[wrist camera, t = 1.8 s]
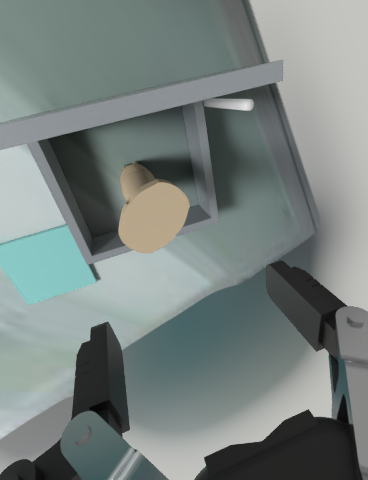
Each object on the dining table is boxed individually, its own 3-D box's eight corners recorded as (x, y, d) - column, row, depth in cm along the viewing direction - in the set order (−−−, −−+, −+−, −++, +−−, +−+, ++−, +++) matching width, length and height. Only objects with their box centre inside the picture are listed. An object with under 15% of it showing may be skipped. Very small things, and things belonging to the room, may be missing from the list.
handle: (102, 182, 33) (106, 235, 21) (132, 141, 32) (155, 170, 19) (133, 203, 36) (154, 261, 23) (162, 165, 34) (200, 205, 22)
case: (27, 115, 28) (-69, 141, 12) (192, 77, 30) (297, 56, 14) (88, 245, 37) (81, 360, 21) (211, 207, 39) (289, 282, 23)
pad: (-11, 246, 33) (-12, 249, 32) (69, 223, 34) (68, 225, 34) (29, 302, 38) (28, 305, 38) (96, 279, 40) (96, 282, 39)
